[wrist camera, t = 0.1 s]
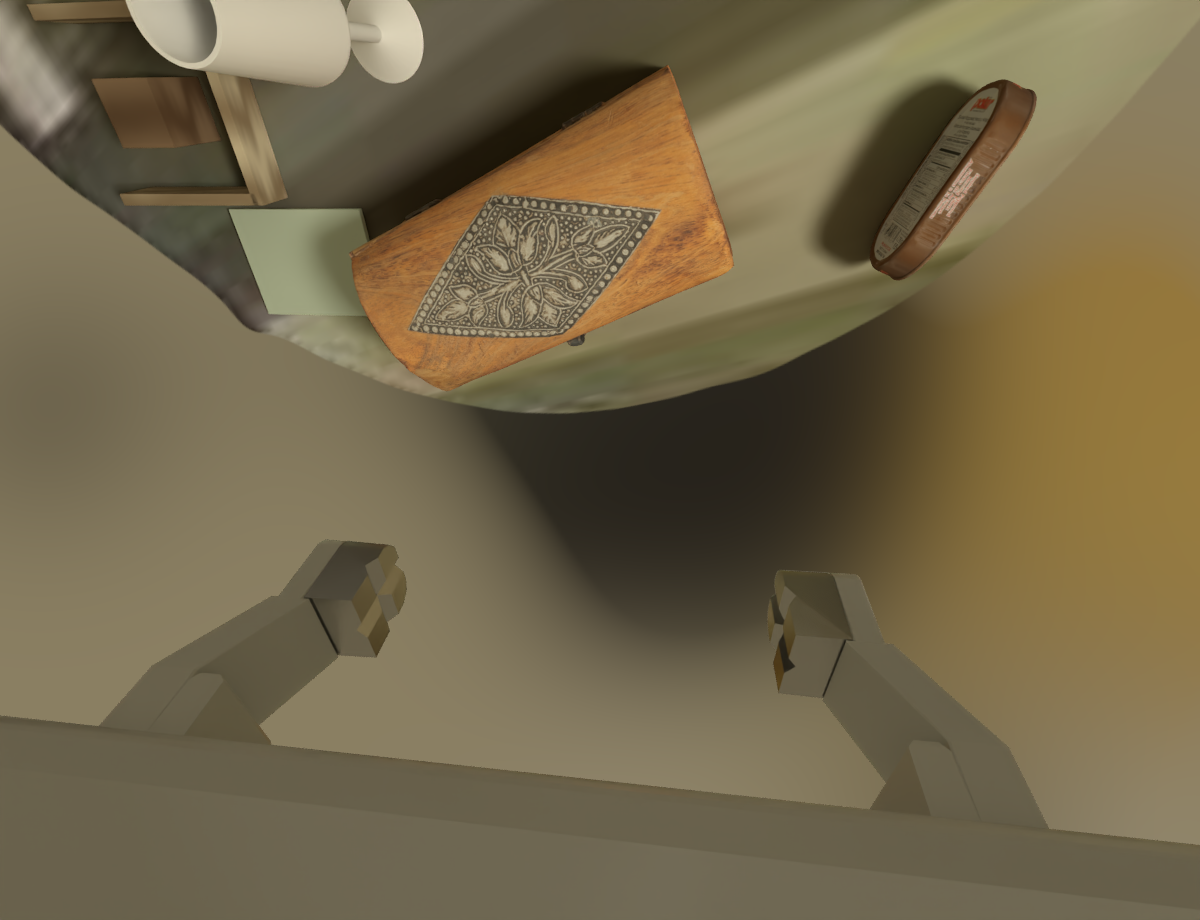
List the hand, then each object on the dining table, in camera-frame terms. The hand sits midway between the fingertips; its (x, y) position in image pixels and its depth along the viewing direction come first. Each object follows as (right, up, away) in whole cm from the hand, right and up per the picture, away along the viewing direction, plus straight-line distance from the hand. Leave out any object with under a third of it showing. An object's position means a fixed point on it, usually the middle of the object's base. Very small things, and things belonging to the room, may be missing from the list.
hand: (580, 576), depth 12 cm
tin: (+29, +27, +36) cm, 54 cm away
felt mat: (-30, +24, +47) cm, 60 cm away
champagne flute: (-18, +38, +34) cm, 55 cm away
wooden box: (-4, +25, +43) cm, 49 cm away
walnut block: (-38, +35, +39) cm, 65 cm away
